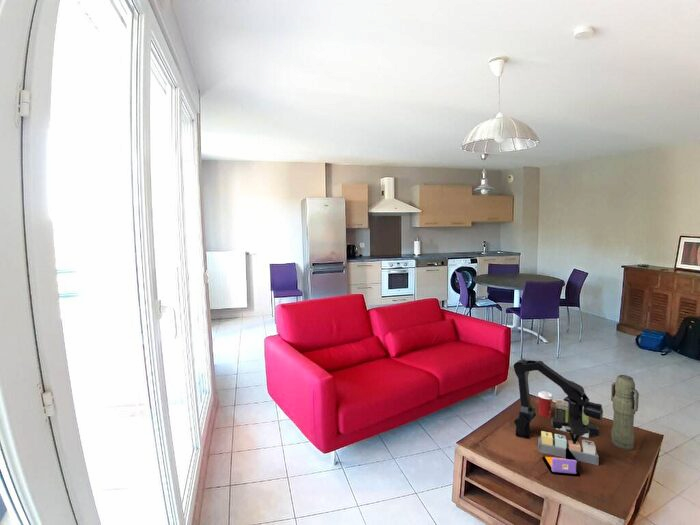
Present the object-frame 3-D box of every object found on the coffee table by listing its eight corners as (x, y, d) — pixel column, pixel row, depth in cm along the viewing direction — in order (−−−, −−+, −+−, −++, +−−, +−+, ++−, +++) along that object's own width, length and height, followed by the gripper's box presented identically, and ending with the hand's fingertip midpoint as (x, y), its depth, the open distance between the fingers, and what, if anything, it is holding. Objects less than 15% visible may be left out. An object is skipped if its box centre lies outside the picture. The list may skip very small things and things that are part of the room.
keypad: (538, 451, 168) (539, 443, 168) (538, 443, 174) (538, 436, 174) (598, 465, 158) (598, 456, 158) (595, 456, 164) (595, 448, 164)
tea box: (587, 429, 187) (588, 403, 186) (588, 438, 178) (589, 411, 177) (555, 421, 195) (556, 396, 194) (554, 430, 186) (555, 404, 185)
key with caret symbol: (555, 447, 166) (555, 438, 166) (554, 442, 170) (554, 433, 170) (566, 449, 164) (566, 440, 164) (565, 444, 168) (565, 435, 168)
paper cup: (554, 421, 195) (555, 397, 194) (539, 420, 197) (540, 396, 196) (549, 414, 203) (550, 391, 202) (535, 413, 204) (536, 390, 203)
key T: (583, 453, 161) (583, 444, 161) (581, 447, 165) (582, 438, 165) (595, 456, 159) (595, 446, 159) (593, 450, 163) (593, 441, 163)
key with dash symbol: (568, 453, 164) (569, 444, 163) (567, 448, 168) (567, 439, 168) (580, 456, 162) (580, 447, 161) (578, 450, 166) (579, 442, 166)
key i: (541, 444, 169) (541, 435, 168) (540, 439, 173) (541, 430, 172) (552, 446, 167) (552, 437, 166) (551, 441, 171) (551, 432, 170)
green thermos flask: (614, 436, 180) (617, 371, 177) (640, 448, 169) (644, 379, 167) (603, 440, 177) (606, 373, 174) (630, 453, 166) (633, 383, 163)
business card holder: (581, 477, 150) (581, 462, 150) (551, 474, 152) (551, 459, 152) (568, 460, 162) (569, 446, 162) (541, 457, 164) (541, 443, 164)
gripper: (554, 415, 160) (553, 447, 161) (603, 424, 152) (601, 458, 153) (551, 405, 170) (550, 435, 171) (597, 413, 162) (596, 444, 163)
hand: (574, 443), depth 165 cm, fingers closed, pressing on key with dash symbol
